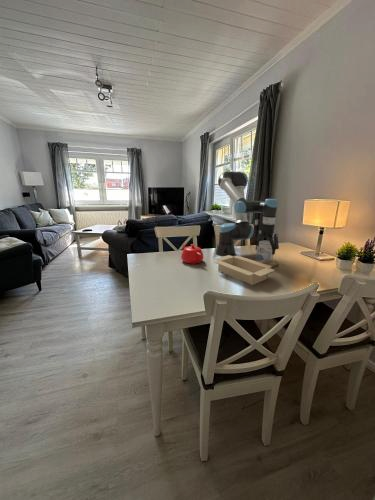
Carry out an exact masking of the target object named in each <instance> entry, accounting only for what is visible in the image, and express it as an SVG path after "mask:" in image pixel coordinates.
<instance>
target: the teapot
mask: <svg viewBox="0 0 375 500" xmlns="http://www.w3.org/2000/svg"><path fill="white" fill-rule="evenodd" d="M182 247H183V250H182V252H181V256H180V258H181V260H182V261H183V262H184V263H185V264H188V263H190V264H189V265H196V264H195V263H197V264H199V263H201V262H202V261H203V260H204V253H203V251H202V248H201V247H199V246H195V244H194V243H192V244H190V246H189V245H188V246H186V244H185V243H183V244H182Z"/></svg>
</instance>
